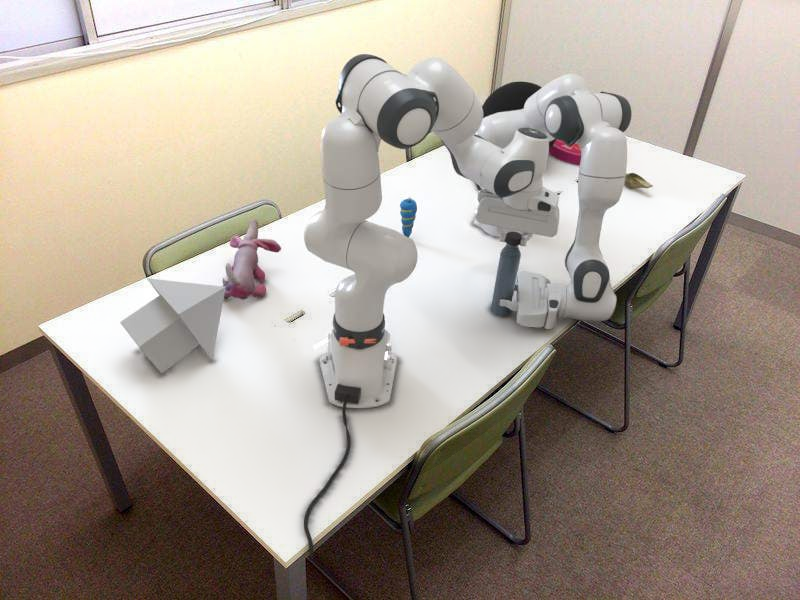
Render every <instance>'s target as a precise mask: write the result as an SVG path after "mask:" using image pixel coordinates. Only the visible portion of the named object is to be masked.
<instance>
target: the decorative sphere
mask: <svg viewBox="0 0 800 600" xmlns="http://www.w3.org/2000/svg"><path fill="white" fill-rule="evenodd" d="M542 87H543V86H540V85H538V84H536V83H534V82H530V81H520V80H519V81H511V82H508V83H506V84H504V85H502V86H501V85H500V86H499V87H498V88H496V89H494V90H493V92H491V94H490V95H488V97H487V98H486V99H485V101H484V102H483V104H482V105H481V106H482V109H483V118H485V117H487V116H490V115H492V114H495V113H498V112H506V111H514V110H520V109H524V105H525V102H526V101H527V99H528V98H529V97H531V96H532V95H533V94H534V93H536V92H537V91H538V90H540V89H541V88H542ZM555 141H556V139H554V140H552V141H550V142H549V150H550V149H551V147H552V146H553V145H554V143H555Z"/></svg>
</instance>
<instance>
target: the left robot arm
mask: <svg viewBox="0 0 800 600" xmlns="http://www.w3.org/2000/svg"><path fill="white" fill-rule="evenodd" d="M337 82H338V83H337V93H336V97H335V101H334V102H335V106H336V107H335V108H336V109H337V111H338V112H339V113H340V114H339V115H338V116H336V117H334V118H332V119H330V120H329V121H328V122H327V123H326V124H325V125H324V127H323V129H322V131H321V138H320V168H321V175H322V176H321V177H322V182H323V189H324V199H325V205H324V208H323V210H320V211H318V212H316V213H315V214H313V215H312V217H310V219H309V220H308V222H307V223H306V225H305V228H304V231H303V232H304V233H303V241H304V246H305V248H306V250H307V251H308V252H309V253H311V254H313V256H315V257H317V258H318V259H321V260H323V261H324V262H326V263H328V264H332V265H335V266H336V267H337V266H338V267H340V268H343V269H346V270H349V271H351V272H353V273H354V274H351V275H348V276H347V277H345V278H343V279H342V280H341V281H340V282H338V284H337V285H336V288H335V290H334V313H333V317H332V329H331V330H330V331H329V332H328V333H327V334H326V335H327V338H326V339H323V340H322V341H320V342H318V343H316V344H314V345H313V348H314V349H317V348H319V347H320V346H323V345H324V344H326V343H327V345H326V346H327V350H326V351H327V353H325V354H323V355H321V356H320V357H319V366H320V370H321V374H322V378H323V382H324V387H325V390H326V391H325V392H326V394H327V400H328V402H329V404H332V405H334V406H337V407H340V408H342V411H341V413H342V421H343V424H344V427H345V434H346V449H345V452H344V455H343V457H342V459H341V460H340V463H339V464H338V466H337V467H336V469H335V470H334V471H333V473H332V474H331V476H330V477H329V479H328V480H327V482H326V483H325V485H324V486H323V488H322V489H321V490H320V491H319V492H318V493H317V495H316V496H315V497H314V498H313V499H312V501H311V502H310V504H309V505H308V507H307V509H306V512H305V514H304V519H303V527H304V532H305V535H306V538H307V541H308V548H309V557H310V558H313V557H314V553H315V552H314V543H313V539H312V536H311V535H312V534H311V533H310V528H309V517H310V514H311V512H312V509H313V508H314V506H315V504H316V503H317V502H318V501H319V499H320V498H321V497H322V496H323V495H324V493H326V491H327V490H328V489H329V487H330V486H331V484H332V483H333V481H334V480H335V478H336V476H337V475H338V474H339V472H340V471H341V469H342V467H343V466H344V464H345V462H346V461H347V460H348V457H349V453H350V448H351V434H350V431H349V429H348V421H347V414H346V413H347V412H346V411H347V409H371V408H376V407H377V408H378V407H381V406H383V405H387V404H388V403H389V402H390V401H391V396H392V391H393V386H394V382H395V381H394V380H395V376H396V370H397V364H398V357H397V356H396V355H395V354H393V353H391V352H392V345H390V344H391V343H390V341H391V339H390V338H391V334H390V332H389V331H387V330H386V318H385V313H384V307H385V299H386V294H387V291H388V290H389V289H390V288H391V287H392V286H394V285H396V284H399V283H402V282H404V281H405V280H407V279H408V278H409V277H410V276H411V275H412V273H413V272H414V271H415V269H416V266H417V264H418V258H419V257H418V248H417V245H416V243H415V241H414V240H413V239H411V238H410V237H406V236H405V235H404V234H403V233H401V232H399V231H398V230H395V229H393V228H389V227H387V226H384V225H380V224H377V223H373V222H370V221H368V220H367V219H369V218H371V217H373V216H374V215H375V214H376V213H377V212H378V211H379V209H380V207H381V205H382V201H383V191H382V179H381V178H382V177H381V167H380V159H379V151H380V144H381V142H382V141H383V142H384V143H386V144H387V145H390V146H392V147H393V148H395V149H399V150H408V149H411V148H413V147H415V146H417V145H419V144H420V143H422V142H423V141H424V140H425V139H426V138H427V137H428V135H429V134H430V133H431V132H432V133H433V134H434V136H436V137H437V138H438V139H439V140H440V142H441V143H442V144H443V146H444V147H445V148H446V149H447V151H448V153H449V155H450V159H451V163H452V168H453V170H454V172H455V173H456V174H457V175H459V176H460V177H462V178H465V179H466V180H469V181H471V182H472V183H474V184H475V183H476V184H478V185H479V186H480V188H481V189H482V190H480V191H479V190H478V193H477V202H478V203H479V204H478V206H477V210H476V211H477V213H475V218H476V220H477V222H478V223H482V224H487V225H492V226H497V231H498V233H499V235H500V237H499V242H501V243H506V242H505V240H506V235H507V234H506V233H504V232H503V228H507V229H512V230H517V231H522V232H525V233H526V235H525V236H522V238H521V241H520V245H519V246H520V247H526V246H527V242H528V241H529V240H530V239H531V238H533V235H537V236H543V237H548V238H554V237H555V236H557V234H558V230H559V225H560V207H559V206H558V205H559V201H560V200H559V199H560V197H559V194H558V193H556V192H555V191H553V190H551V189H549V188H547V187H545V186H543V185H544V184H543V183H544V182H543V177H544V175H545V172H546V170H547V165H548V160H549V154H550V153H549V140H548V137H547V136H546V135H545V134H544V133H542V132H540V131H538V130H535V129H531V128H519V129H517V131H516V133H515V136H514V139H513V141H512V142H511V143H510V144H509V145H508V146H507V147H505V148H504V149H501V148H500V147H498V146H496V145H494V144H492V143H490V142H488V141H487V140H486V139H484V138H482V137H481V136H479V135H478V134H477V133H478V129H479V128H480V126H481V123H482V120H483V109H482V106H483V105H482V103H481V101H480V99H479V97H478V96H477V94H476V93H475V91H474V90H473V88H472V87H471V86H470V84H469V83H468V81H467V80H466V78H464V77H463V76H462V75H461V74H460V73H459V71H458V70H456V69H455V68H454V67H453V66H452V65H451V64H449V63H448V62H447V61H445V60H443V59H442V58H439V57H426V58H424V59H421V60H420V61H418V62H417V63H415V64H414V65H413V66H412V68H410V70H409V71H408V72H407V73H402V72H401V71H400V70H398V69H397V68H396V67H394V66H393V65H391V64H389V63H388V62H387V61H386V60H384V59H383V58H382V57H379V56H377V55H373V54H369V53H361V54H357V55H355V56H353V57H351V58H350V59H349V60H348V61H347V62H346V63H345V64H344V66H343V68H342V70H341V71H340V75H339V79H338V81H337ZM476 184H475V185H476Z"/></svg>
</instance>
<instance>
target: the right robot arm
mask: <svg viewBox="0 0 800 600" xmlns="http://www.w3.org/2000/svg"><path fill="white" fill-rule="evenodd" d="M541 87H542V88H541V89H540V90H538V91H537V92H536V93H534V94H533V95H532V96H531V97H529V98H528V99H527V101H526V102H525V105H524V109H520V110H514V111H506V112H498V113H495V114H492V115H490V116H487V117H485V118H483V120H482V123H481V126H480V128H479V129H478V131H477V135H479V136H481V137H482V138H484V139H486V140H487V141H488V142H490V143H492V144H494V145H496V146H498V147H500V148H501V149H504V148H505V147H507V146H508V145H509V144H510V143H511V142H512V141H513V139H514V136H515V133H516V131H517V129H519V128H531V129H535V130H538V131H540V132H542V133H544V134H545V135H546V136H547V137H548V140H549V142H550V141H552V140H554V139H557V140H560V141H562V142H564V143H565V144H566V145H567V146H572V145H574V144H575V143H577V144H578V145H579V147H580V149H581V161H580V165H579V169H578V178H577V197H578V216H577V223H576V229H575V236H574V239H573V242H572V244H571V246H570V247H569V249H568V251H567V253H566V255H565V256H564V257H565V258H564V267H565V269H566V271H567V273H568V275H569V278H570V283H569V284H557V283H552V281H551V280H550V279H549V278H548V277H547V276H544V275H543V274H540V273H537V272H532V271H528V270H520V271H518V273H517V278H516V283H515V288H514V292H516V300H514V301H512V302H511V301H509V300H507V298H502V297H501V298H500V304H499V305H500V306H506V307H507V308H509V309H510V311H515V312H516V323H517V324H518V325H520V326H523V327H528V328H543V327H544V328H545V329H547V330H552V329H554V326H555V324H556V322H557V320H558V319H568V318H569V319H573V320H576V321H581V322H597V323H599V322H605V321H606V322H607V321H608V320H609V319H610V318H612V316H613V315H614V313H615V311H616V307H617V301H618V298H617V295H616V293H615V292H614V289H613V287H612V283H611V277H610V269H609V266H608V265H607V262H606V261H605V259H604V257H603V254H602V252H601V247H600V238H601V232H602V227H603V220H604V216H605V214H606V212H607V211H608V210H609V209H612V207H614V206H615V205H617V204H618V203H619V202H620V199H621V197H622V194H623V189H624V187H625V176H626V173H627V167H628V142H627V141H628V140H627V136H626V135H625V132H626V131H627V130H628V128H629V126H630V124H631V121H632V115H633V114H632V107H631V103H630V102H629V100H628V98H626V97H624V96H622V95H619V94H617V93H613V92H607V91H600V92H594V93H593V92H591V91H590V89H589V85H588V83H587V81H586V80H585V78H583V77H582V76H581V75H579V74H577V73H566V74H563V75H561V76H559V77H557V78H554V79H553V80H550V81H549V82H547V83H546V84H545V85H544V86H541ZM474 184H475V186H476V187H477V189H478V192H479V191H480V190H482V189H483V188H482V187H481V186H479V185H478V184H476V183H474ZM474 213H475V214H476V213H477V210H475V211H474ZM473 225H474V226H476V227H478V228H480V229H481V230H483V232H485V233H486V234H488V235H491V236H493V237H496V238H500V235H499V233H498V231H497V226H492V225H487V224H482V223H478V222H477V220H476V217H475V218H474V220H473ZM512 231H513V232H518V233H520V234H521V235H523V234H526V232H522V231H517V230H512V229H507V228H503V232H504V233H506V234H507V233H508V232H512Z"/></svg>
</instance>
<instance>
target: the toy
mask: <svg viewBox="0 0 800 600" xmlns="http://www.w3.org/2000/svg"><path fill="white" fill-rule="evenodd" d="M229 241H230V242H229V247H231V248H233V249H237V251H236V252H235V255H234V256H233V257H234V258H233V265H231V264H230V263H229V262H227V263H226V264H225V266H224V267H225V274H226V276H227V280H226V279H225V278H224V277H222V285H221V286H223V287H226V288H225V294H224V299H225V300H227V299H228V298H231V297H232V298H235V299H240V300H243V301H244V300H246V299H248V298H249V297H253V298H256V297H257V298H262V297H264V296H265V295H266V293H267V287H266V285H265V284H263V283H264V281H265V280H266V273H265V271H264V270H263V269H261V267H260V266H259V256H258V250H259V249H258V248H261V249H263V250H265V251H268V252H271V253H280V252H281V251H282V247H281V245H280V244H279V243H278V242H277V240H275V239H272V238H259V221H258V220H257V219H256V218H252V219H251V220H250V221H249V224H248V228H247V230H246V233H245V234H244V237H243V239H242V238H241V237H240V236H239V235H233V236H232V237H230V240H229ZM255 281H256V282H258V283H259V284H257V285H256V282H255Z"/></svg>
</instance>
